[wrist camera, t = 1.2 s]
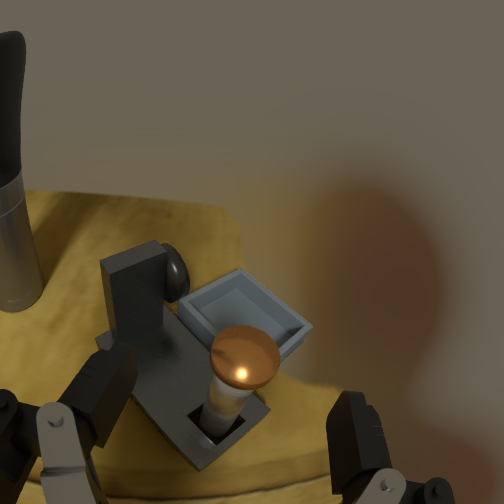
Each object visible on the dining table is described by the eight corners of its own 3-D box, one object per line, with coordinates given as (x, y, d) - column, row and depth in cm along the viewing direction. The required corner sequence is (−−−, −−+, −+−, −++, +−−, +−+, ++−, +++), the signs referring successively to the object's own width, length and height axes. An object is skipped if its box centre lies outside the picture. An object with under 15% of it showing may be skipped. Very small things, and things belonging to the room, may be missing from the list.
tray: (176, 318, 36) (178, 299, 34) (235, 285, 44) (241, 267, 42) (248, 390, 31) (257, 376, 29) (302, 342, 38) (313, 326, 36)
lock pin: (183, 421, 26) (196, 346, 17) (214, 399, 29) (245, 315, 20) (213, 451, 24) (248, 397, 15) (243, 426, 27) (293, 356, 18)
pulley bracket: (92, 338, 30) (72, 254, 22) (158, 305, 37) (163, 223, 29) (198, 472, 22) (218, 444, 14) (267, 414, 29) (315, 354, 21)
